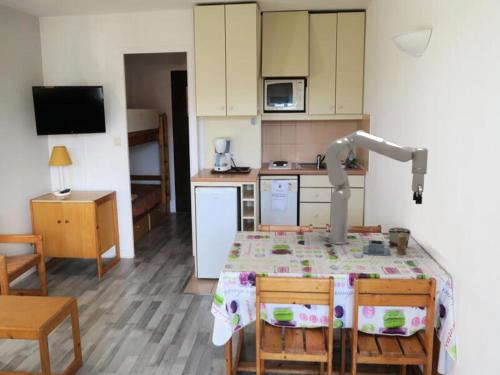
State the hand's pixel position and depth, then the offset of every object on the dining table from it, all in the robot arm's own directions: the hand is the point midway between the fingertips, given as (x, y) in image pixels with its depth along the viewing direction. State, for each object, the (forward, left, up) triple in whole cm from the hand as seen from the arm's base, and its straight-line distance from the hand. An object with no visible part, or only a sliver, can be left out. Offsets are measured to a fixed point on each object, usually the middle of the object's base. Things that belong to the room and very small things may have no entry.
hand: (417, 202), depth 237 cm
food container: (-8, +5, -27) cm, 29 cm away
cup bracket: (-20, -9, -27) cm, 35 cm away
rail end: (-7, -9, -27) cm, 29 cm away
